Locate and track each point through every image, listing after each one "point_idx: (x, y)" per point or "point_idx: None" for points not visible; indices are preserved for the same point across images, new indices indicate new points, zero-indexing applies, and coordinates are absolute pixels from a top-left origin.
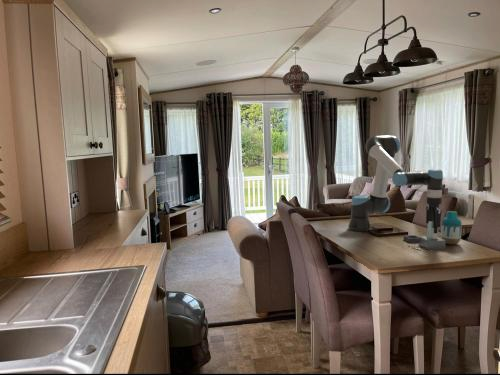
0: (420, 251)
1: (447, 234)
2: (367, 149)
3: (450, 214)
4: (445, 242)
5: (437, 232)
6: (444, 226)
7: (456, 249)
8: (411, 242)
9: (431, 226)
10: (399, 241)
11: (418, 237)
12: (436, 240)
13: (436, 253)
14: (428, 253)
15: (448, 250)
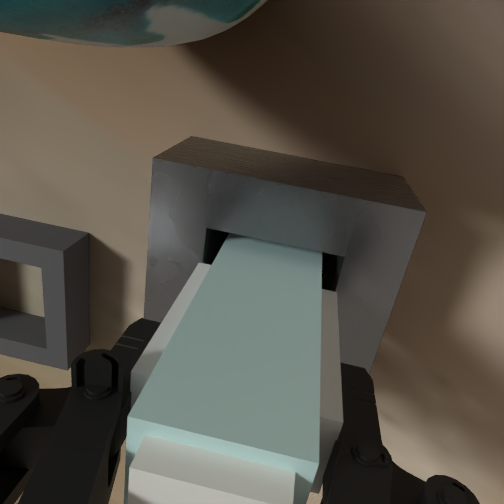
0: (383, 436)
1: (235, 14)
2: None
3: None
4: (420, 203)
5: (319, 330)
6: (99, 34)
7: (469, 35)
8: (89, 324)
9: None
10: (46, 384)
11: (24, 259)
12: (381, 329)
13: (499, 367)
14: (465, 423)
15: (463, 176)
